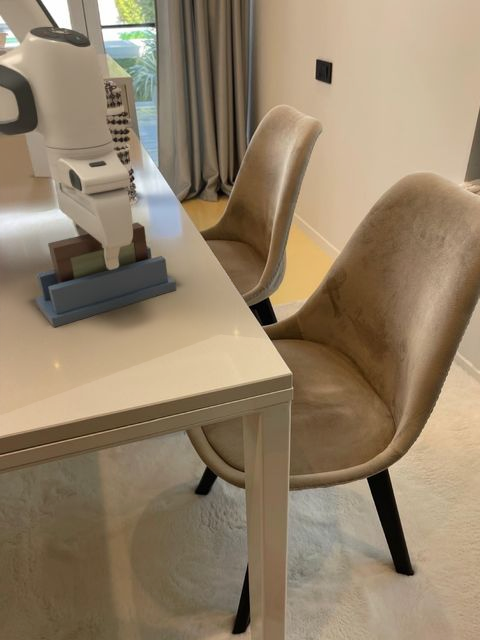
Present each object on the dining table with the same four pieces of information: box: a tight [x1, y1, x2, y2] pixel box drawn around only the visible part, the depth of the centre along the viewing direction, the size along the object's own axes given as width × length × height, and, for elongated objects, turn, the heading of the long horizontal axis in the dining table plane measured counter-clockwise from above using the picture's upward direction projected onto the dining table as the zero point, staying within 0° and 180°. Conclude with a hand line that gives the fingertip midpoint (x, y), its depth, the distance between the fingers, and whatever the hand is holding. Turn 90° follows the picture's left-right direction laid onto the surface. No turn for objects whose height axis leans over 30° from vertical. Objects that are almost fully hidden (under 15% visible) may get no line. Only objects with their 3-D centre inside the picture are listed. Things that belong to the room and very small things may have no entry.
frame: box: [47, 222, 148, 284], centre depth 85 cm, size 2×14×9 cm, turn 126°
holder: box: [34, 245, 177, 328], centre depth 87 cm, size 8×20×6 cm, turn 126°
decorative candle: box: [104, 80, 138, 206], centre depth 122 cm, size 9×9×25 cm
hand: (99, 256), depth 84 cm, fingers open, 8 cm apart
